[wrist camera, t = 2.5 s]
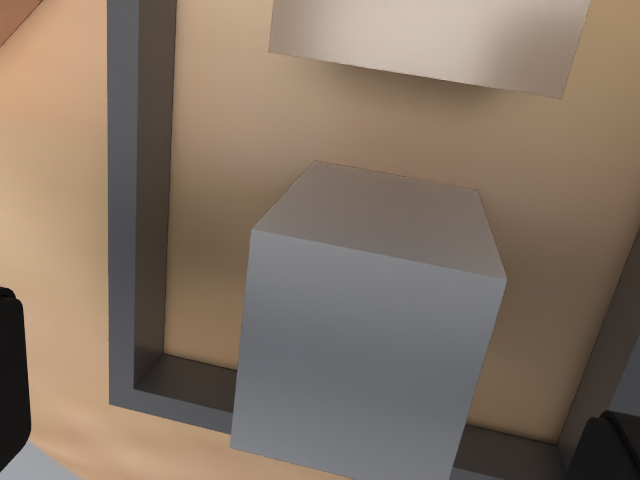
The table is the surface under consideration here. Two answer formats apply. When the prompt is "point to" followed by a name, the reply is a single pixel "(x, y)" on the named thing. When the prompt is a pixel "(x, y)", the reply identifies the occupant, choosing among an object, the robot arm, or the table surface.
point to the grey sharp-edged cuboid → (365, 324)
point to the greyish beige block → (439, 38)
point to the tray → (220, 384)
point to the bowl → (14, 15)
